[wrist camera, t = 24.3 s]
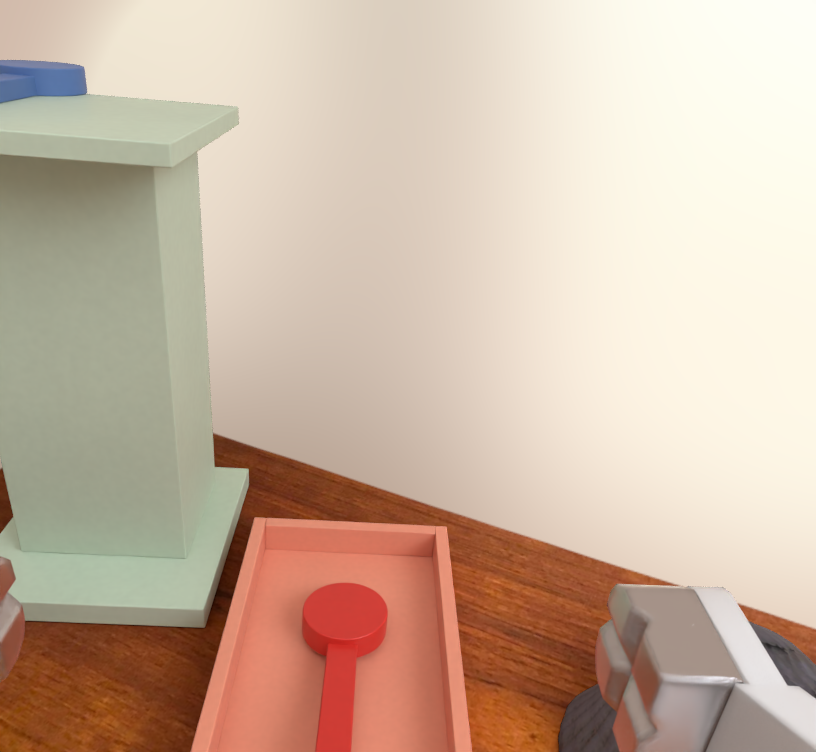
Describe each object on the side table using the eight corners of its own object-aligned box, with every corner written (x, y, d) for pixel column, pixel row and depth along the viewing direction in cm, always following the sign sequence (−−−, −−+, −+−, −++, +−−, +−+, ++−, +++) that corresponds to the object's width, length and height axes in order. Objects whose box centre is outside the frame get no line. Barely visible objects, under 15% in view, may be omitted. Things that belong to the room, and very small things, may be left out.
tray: (142, 991, 25) (134, 952, 24) (255, 550, 46) (254, 516, 45) (485, 995, 26) (496, 957, 24) (442, 558, 47) (446, 526, 45)
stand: (-45, 618, 39) (-195, 114, 27) (60, 474, 51) (-9, 85, 39) (205, 628, 40) (170, 143, 28) (249, 484, 52) (238, 106, 40)
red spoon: (384, 945, 24) (387, 919, 24) (248, 942, 24) (248, 916, 24) (386, 603, 42) (387, 583, 41) (306, 599, 41) (307, 580, 41)
